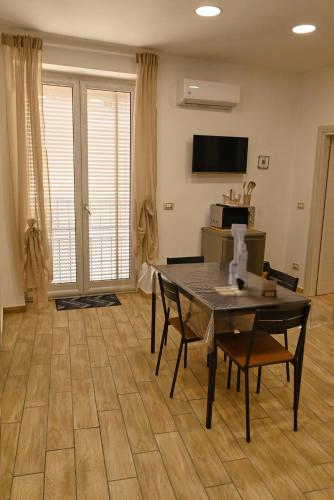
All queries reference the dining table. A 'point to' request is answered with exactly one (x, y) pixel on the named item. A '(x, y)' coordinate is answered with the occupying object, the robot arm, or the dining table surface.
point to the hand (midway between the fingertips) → (240, 289)
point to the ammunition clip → (269, 289)
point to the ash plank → (238, 291)
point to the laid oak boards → (224, 291)
